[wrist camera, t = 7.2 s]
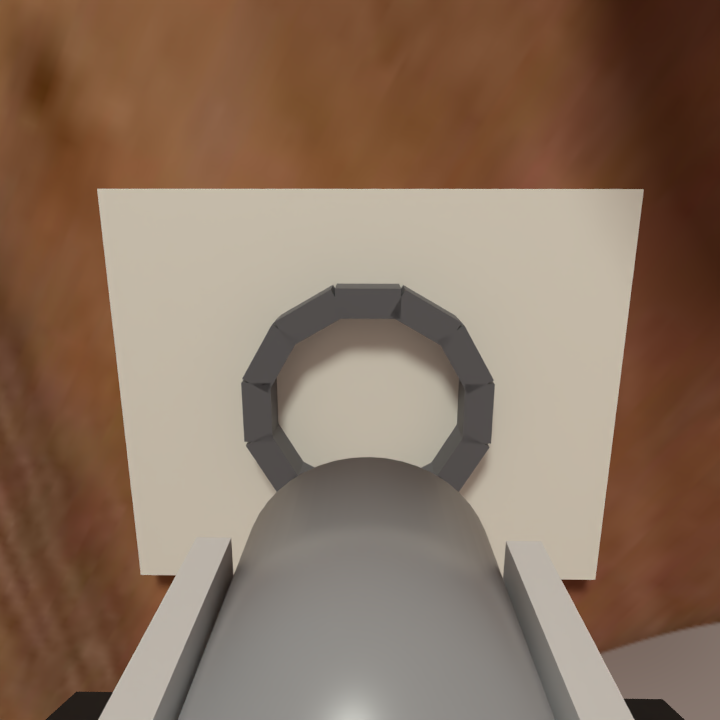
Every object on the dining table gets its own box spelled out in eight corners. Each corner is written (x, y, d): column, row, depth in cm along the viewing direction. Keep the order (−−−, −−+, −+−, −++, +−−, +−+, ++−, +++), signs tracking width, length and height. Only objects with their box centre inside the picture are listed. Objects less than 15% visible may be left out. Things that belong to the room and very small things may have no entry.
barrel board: (152, 556, 29) (126, 596, 26) (113, 190, 24) (77, 187, 21) (583, 561, 28) (608, 602, 25) (626, 190, 24) (664, 187, 21)
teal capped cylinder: (250, 672, 14) (107, 1209, 7) (238, 455, 13) (36, 811, 5) (484, 676, 14) (622, 1226, 6) (499, 458, 13) (701, 825, 5)
